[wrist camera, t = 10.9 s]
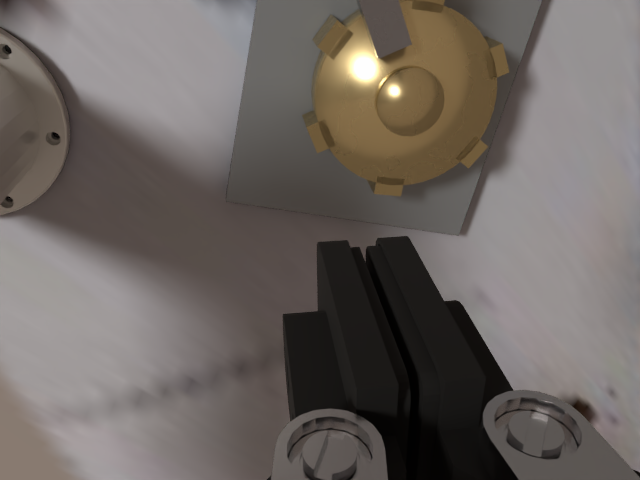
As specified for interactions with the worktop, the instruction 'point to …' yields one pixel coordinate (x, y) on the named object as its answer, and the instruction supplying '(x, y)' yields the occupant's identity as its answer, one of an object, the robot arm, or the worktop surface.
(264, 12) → the base plate
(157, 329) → the worktop surface
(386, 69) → the gold domed lever dial
